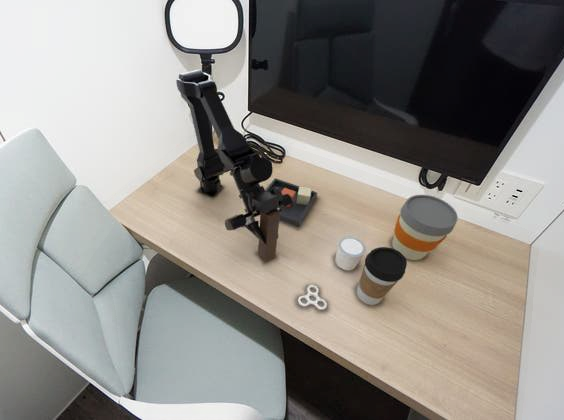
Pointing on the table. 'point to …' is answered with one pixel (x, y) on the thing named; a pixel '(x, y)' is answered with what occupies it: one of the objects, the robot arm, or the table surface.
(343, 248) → the white short cylinder
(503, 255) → the table surface
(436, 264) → the table surface
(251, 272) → the table surface
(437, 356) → the table surface
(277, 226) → the brown square post
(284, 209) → the tray
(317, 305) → the fidget spinner
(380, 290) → the coffee cup
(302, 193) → the cream block
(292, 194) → the terracotta block
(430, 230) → the reusable coffee cup
